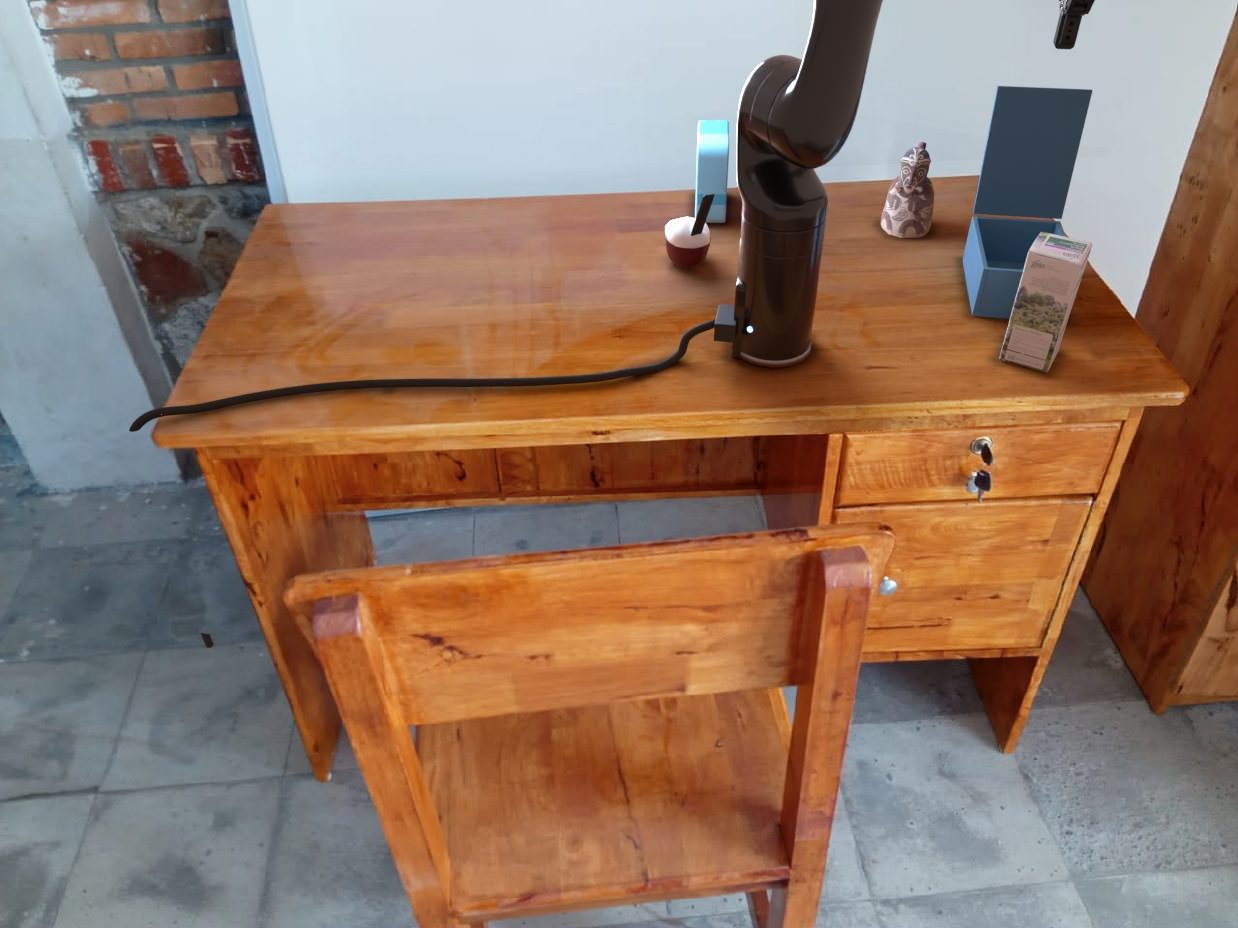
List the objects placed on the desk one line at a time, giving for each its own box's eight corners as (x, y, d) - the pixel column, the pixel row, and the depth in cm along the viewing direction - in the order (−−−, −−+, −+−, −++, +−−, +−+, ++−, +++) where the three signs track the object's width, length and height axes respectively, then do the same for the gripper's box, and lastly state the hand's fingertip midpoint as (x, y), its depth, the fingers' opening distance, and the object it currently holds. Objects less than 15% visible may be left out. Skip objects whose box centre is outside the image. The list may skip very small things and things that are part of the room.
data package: (725, 226, 142) (729, 147, 134) (694, 226, 142) (697, 147, 135) (724, 193, 151) (728, 117, 144) (696, 193, 152) (698, 117, 144)
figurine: (872, 230, 140) (884, 150, 132) (891, 213, 144) (904, 134, 137) (919, 242, 137) (934, 160, 129) (937, 224, 141) (953, 144, 134)
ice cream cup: (662, 248, 137) (663, 167, 129) (706, 247, 137) (709, 166, 129) (668, 280, 130) (668, 197, 122) (714, 279, 130) (717, 195, 122)
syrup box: (1059, 351, 114) (1095, 239, 105) (1047, 375, 110) (1082, 261, 101) (1010, 338, 117) (1041, 228, 107) (996, 361, 113) (1027, 249, 104)
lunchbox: (1065, 323, 119) (1080, 275, 115) (971, 316, 121) (983, 269, 117) (1047, 266, 130) (1060, 221, 126) (962, 260, 132) (972, 215, 128)
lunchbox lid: (1092, 90, 118) (1091, 89, 118) (998, 86, 120) (997, 85, 120) (1061, 219, 126) (1060, 218, 126) (973, 214, 128) (972, 212, 128)
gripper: (1059, -131, 108) (1023, 30, 120) (1077, -110, 99) (1036, 64, 110) (1130, -132, 107) (1087, 32, 118) (1156, -110, 97) (1106, 66, 108)
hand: (1063, 47), depth 114 cm, fingers closed
